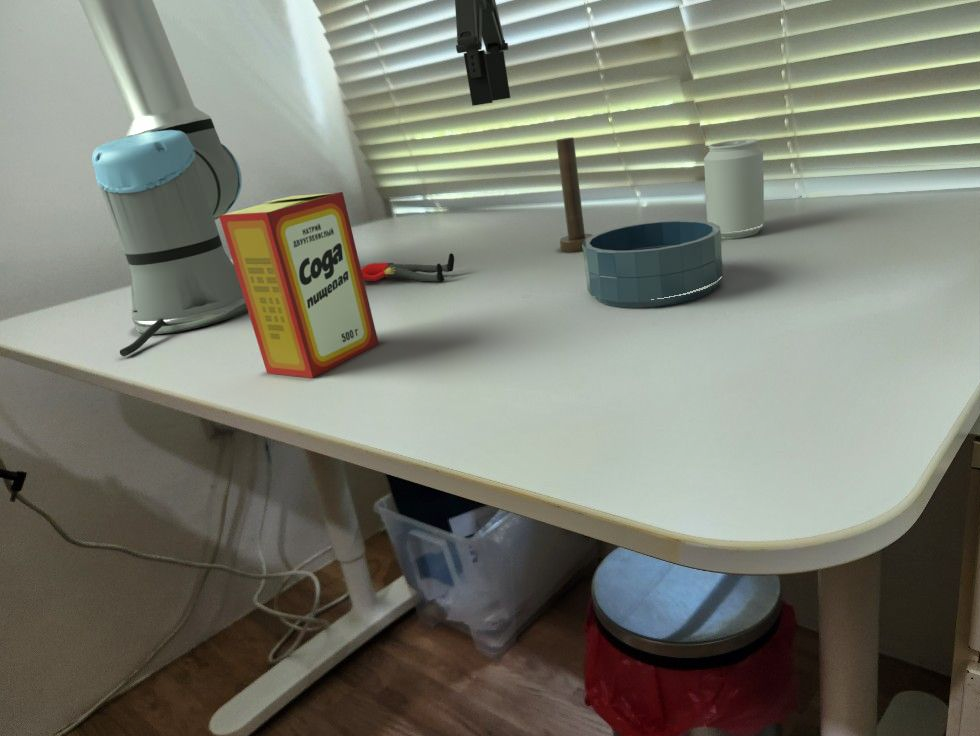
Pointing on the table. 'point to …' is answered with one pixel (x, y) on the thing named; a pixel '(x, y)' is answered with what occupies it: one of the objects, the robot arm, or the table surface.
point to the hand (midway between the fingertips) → (492, 102)
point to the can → (735, 187)
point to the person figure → (407, 271)
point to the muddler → (571, 197)
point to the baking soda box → (301, 282)
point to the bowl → (653, 262)
